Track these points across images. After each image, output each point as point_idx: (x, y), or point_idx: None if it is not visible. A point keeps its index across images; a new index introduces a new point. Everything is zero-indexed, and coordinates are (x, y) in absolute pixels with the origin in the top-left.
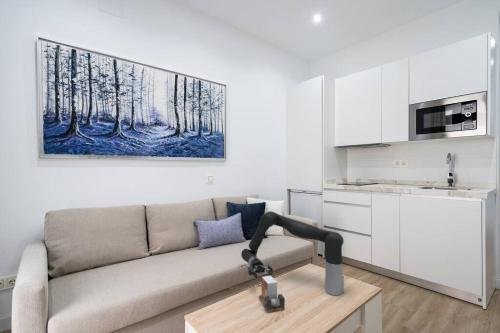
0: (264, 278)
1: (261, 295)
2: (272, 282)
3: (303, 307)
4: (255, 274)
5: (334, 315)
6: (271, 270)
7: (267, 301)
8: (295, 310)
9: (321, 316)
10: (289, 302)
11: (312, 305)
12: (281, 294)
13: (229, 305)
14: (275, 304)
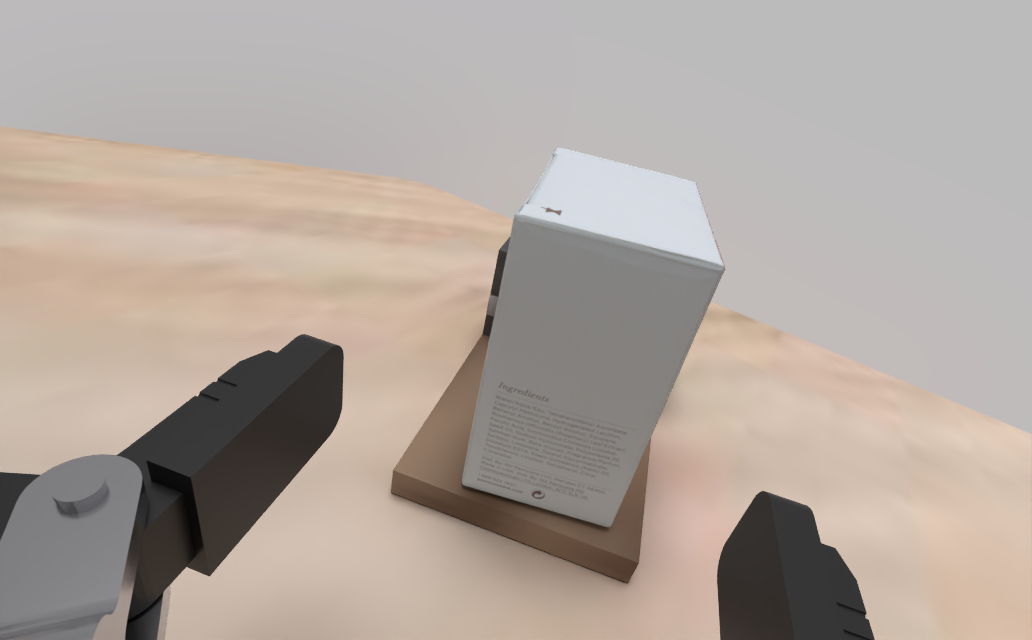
0: (695, 228)
1: (601, 543)
2: (622, 164)
3: (343, 264)
4: (811, 568)
5: (279, 175)
6: (7, 483)
7: None
8: (429, 280)
9: (348, 201)
10: (370, 338)
11: (261, 242)
12: (506, 247)
13: None
14: None
